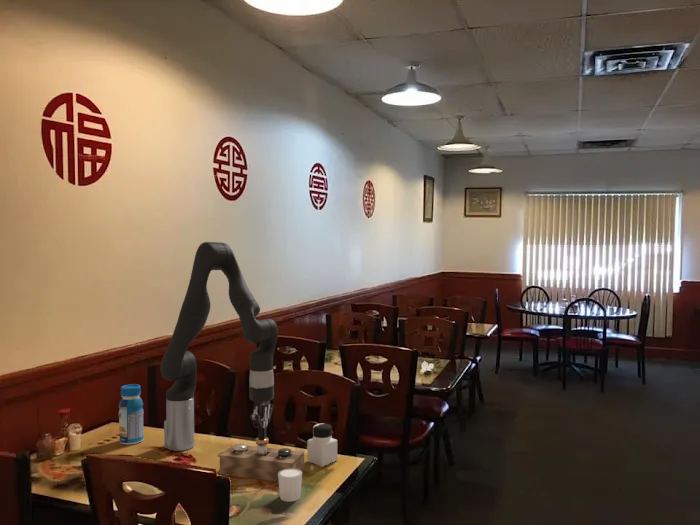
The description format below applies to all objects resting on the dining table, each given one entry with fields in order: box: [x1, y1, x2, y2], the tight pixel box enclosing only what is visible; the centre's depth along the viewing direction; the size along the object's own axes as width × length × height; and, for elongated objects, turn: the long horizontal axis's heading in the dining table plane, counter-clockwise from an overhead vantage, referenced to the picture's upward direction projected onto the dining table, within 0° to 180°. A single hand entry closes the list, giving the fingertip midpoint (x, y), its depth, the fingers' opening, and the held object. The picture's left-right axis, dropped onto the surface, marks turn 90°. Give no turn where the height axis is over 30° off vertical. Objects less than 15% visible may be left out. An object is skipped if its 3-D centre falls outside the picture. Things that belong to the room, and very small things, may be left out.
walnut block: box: [219, 444, 305, 483], centre depth 185 cm, size 24×10×6 cm, turn 74°
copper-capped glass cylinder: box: [255, 436, 270, 456], centre depth 185 cm, size 4×4×7 cm
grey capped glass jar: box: [278, 447, 292, 459], centre depth 183 cm, size 4×4×7 cm
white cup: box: [278, 469, 303, 503], centre depth 167 cm, size 7×7×7 cm
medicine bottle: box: [306, 423, 338, 468], centre depth 194 cm, size 7×7×12 cm
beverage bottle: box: [118, 383, 145, 446], centre depth 213 cm, size 8×8×20 cm
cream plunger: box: [233, 443, 248, 454], centre depth 187 cm, size 4×4×7 cm
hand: (262, 438), depth 185 cm, fingers closed
